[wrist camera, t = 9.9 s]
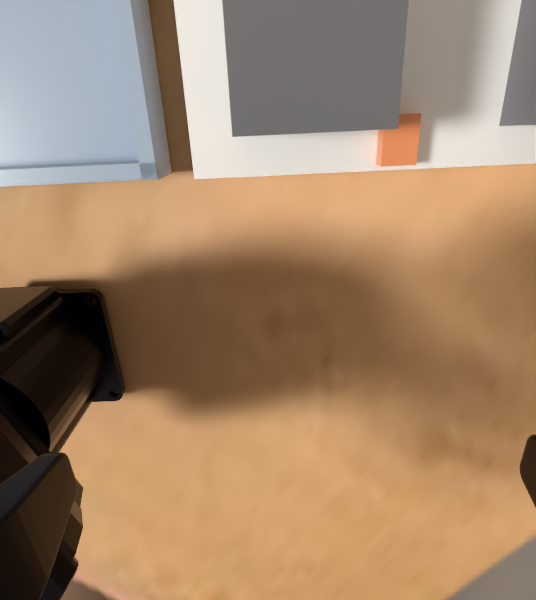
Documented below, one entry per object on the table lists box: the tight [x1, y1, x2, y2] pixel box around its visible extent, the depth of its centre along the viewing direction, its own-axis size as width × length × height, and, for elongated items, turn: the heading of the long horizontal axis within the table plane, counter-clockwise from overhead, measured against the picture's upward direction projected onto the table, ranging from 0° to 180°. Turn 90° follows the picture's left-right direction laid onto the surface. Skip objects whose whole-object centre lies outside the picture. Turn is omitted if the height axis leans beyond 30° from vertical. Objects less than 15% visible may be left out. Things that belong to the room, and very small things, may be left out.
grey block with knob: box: [222, 0, 409, 137], centre depth 12 cm, size 6×4×6 cm
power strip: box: [173, 0, 536, 179], centre depth 12 cm, size 9×16×6 cm, turn 93°
